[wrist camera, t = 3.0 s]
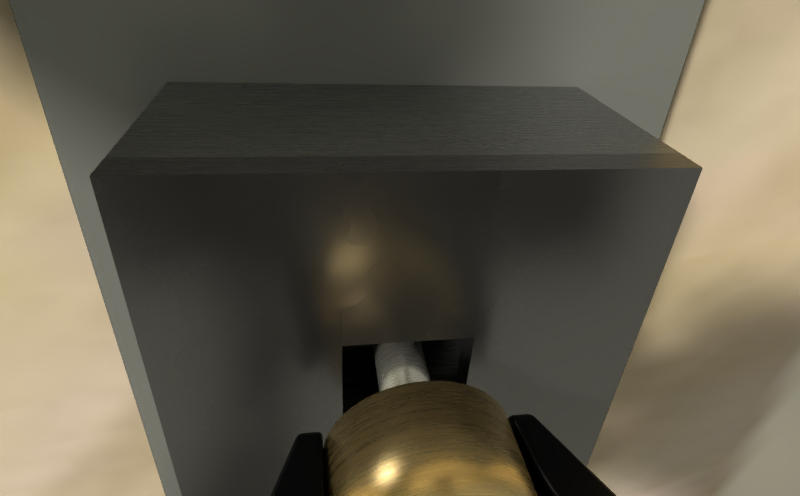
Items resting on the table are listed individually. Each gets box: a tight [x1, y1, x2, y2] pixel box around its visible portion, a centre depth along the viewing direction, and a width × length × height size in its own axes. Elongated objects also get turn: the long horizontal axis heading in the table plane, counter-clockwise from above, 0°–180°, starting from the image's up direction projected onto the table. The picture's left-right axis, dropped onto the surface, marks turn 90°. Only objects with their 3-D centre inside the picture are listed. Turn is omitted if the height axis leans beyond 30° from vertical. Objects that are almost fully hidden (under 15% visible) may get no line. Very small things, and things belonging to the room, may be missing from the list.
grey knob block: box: [89, 82, 702, 496], centre depth 12 cm, size 9×9×5 cm
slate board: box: [9, 0, 705, 496], centre depth 14 cm, size 20×14×1 cm
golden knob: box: [323, 341, 538, 496], centre depth 10 cm, size 4×4×8 cm
